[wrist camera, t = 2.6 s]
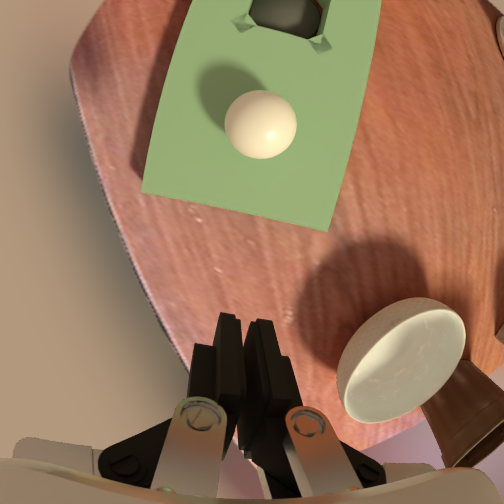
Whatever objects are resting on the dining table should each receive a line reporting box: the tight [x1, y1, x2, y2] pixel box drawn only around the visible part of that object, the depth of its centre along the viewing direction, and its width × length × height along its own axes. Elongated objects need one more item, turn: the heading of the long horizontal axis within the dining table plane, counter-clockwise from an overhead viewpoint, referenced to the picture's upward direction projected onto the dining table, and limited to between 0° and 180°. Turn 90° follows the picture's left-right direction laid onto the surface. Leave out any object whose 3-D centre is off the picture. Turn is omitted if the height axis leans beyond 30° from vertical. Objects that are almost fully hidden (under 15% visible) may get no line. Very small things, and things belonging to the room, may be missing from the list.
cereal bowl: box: [336, 297, 466, 423], centre depth 30 cm, size 17×17×7 cm
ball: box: [224, 90, 297, 159], centre depth 19 cm, size 5×5×5 cm
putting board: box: [141, 0, 382, 232], centre depth 21 cm, size 24×16×2 cm, turn 166°
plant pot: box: [420, 359, 504, 468], centre depth 32 cm, size 16×16×16 cm
